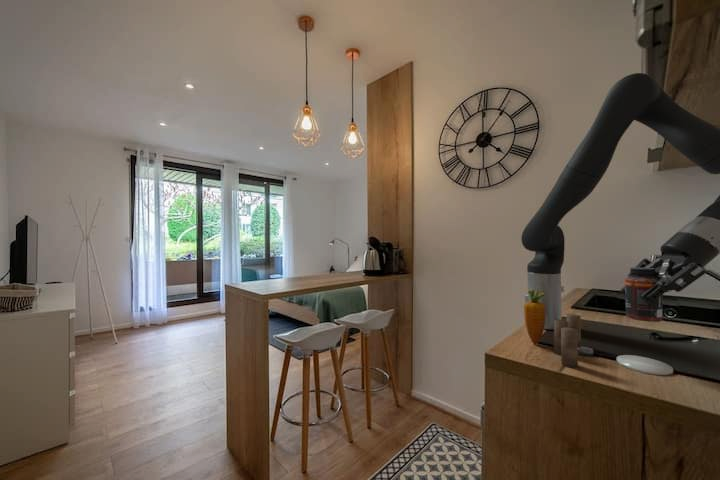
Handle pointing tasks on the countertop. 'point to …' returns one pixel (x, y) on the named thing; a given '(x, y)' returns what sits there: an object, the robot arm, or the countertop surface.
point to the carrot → (534, 316)
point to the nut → (585, 351)
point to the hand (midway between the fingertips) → (634, 297)
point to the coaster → (645, 365)
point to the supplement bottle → (635, 288)
